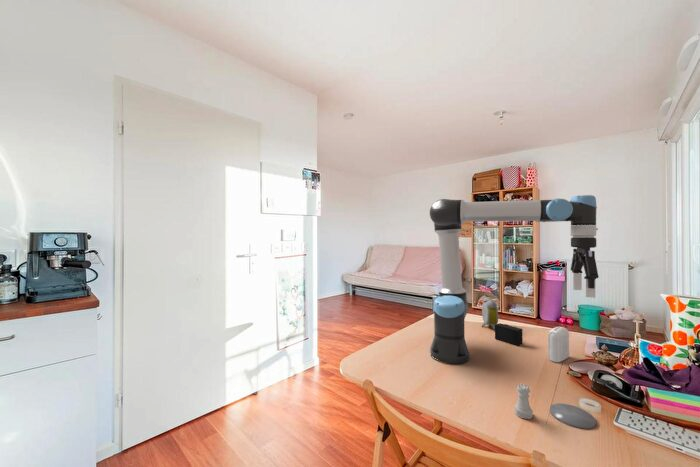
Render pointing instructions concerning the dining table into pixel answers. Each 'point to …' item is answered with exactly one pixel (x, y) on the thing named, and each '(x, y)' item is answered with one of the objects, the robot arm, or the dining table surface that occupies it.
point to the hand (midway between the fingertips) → (583, 293)
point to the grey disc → (572, 416)
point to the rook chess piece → (523, 403)
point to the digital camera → (508, 334)
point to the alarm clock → (489, 312)
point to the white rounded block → (558, 344)
